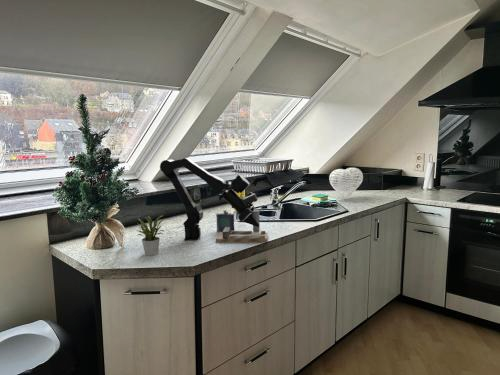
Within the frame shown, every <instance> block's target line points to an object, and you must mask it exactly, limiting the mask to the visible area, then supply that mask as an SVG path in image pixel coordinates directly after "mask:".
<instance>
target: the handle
mask: <svg viewBox="0 0 500 375" xmlns="http://www.w3.org/2000/svg"><path fill="white" fill-rule="evenodd" d="M253 217H254V218H255V220H256V221H257V222H258V224H259V225H260V224H261V223H260V222H261V221H260V222H259V219H260V210H258V209H257V210H254V211H253ZM260 227H261V226H259V227H256V226H254V225H252V230H251V231H252V235H261V231H262V229H260Z"/></svg>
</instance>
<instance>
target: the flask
mask: <svg viewBox="0 0 500 375" xmlns="http://www.w3.org/2000/svg"><path fill="white" fill-rule="evenodd" d="M225 227H230V233H231V231H235V215H234V213H232V212H228V211H227V209H225V210H223V213H222V212H221V213H219V212H217V213H216V231H217V232H218V233H223V230H224V228H225Z"/></svg>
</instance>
